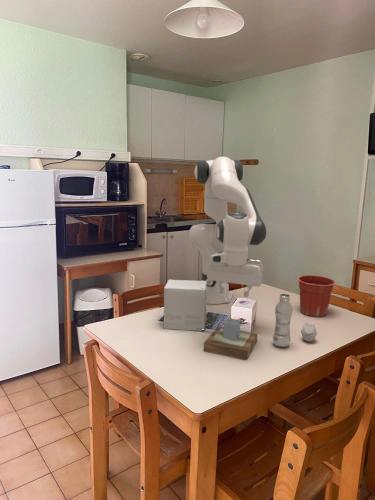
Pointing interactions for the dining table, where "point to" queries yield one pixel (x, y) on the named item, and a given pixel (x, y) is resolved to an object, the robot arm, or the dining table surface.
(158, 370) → the dining table surface
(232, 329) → the slate block
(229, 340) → the walnut stand
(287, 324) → the plastic bottle
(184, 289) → the supplement box
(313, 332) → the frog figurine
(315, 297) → the flower pot
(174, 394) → the dining table surface
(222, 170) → the robot arm
